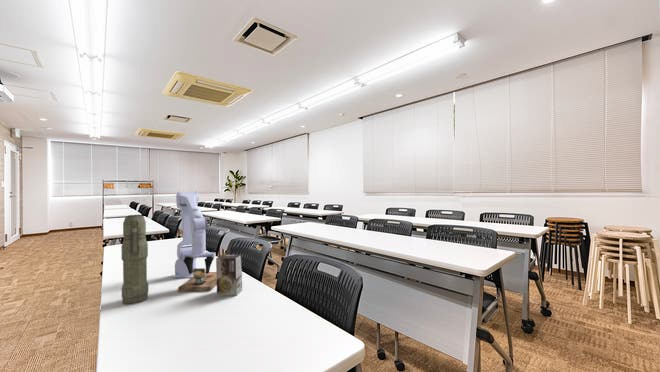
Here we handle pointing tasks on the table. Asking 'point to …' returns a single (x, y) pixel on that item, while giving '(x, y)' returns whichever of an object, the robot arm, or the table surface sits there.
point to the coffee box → (229, 274)
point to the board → (208, 285)
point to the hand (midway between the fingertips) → (199, 273)
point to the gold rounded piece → (199, 275)
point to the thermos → (134, 260)
